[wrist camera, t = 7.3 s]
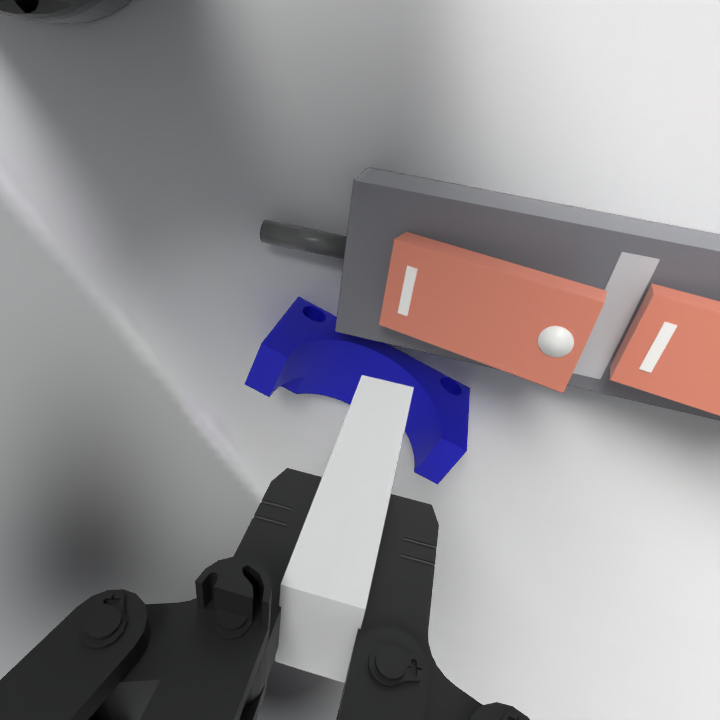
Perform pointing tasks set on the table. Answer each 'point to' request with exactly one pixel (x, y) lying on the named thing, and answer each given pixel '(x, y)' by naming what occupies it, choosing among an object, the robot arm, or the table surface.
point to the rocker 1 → (489, 309)
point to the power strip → (511, 259)
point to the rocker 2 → (673, 349)
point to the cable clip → (344, 370)
